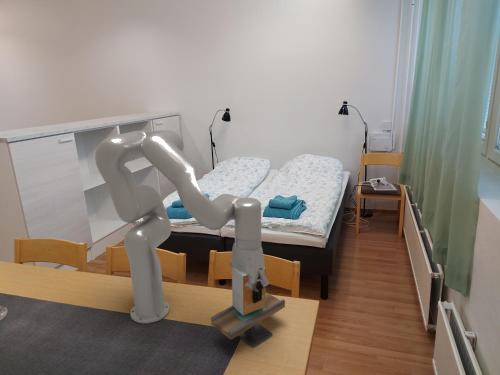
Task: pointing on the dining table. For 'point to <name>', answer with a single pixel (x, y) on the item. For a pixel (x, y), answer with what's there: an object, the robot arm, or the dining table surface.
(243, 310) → the small box
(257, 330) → the pivot stand
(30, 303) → the dining table surface
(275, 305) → the brown flat channel
